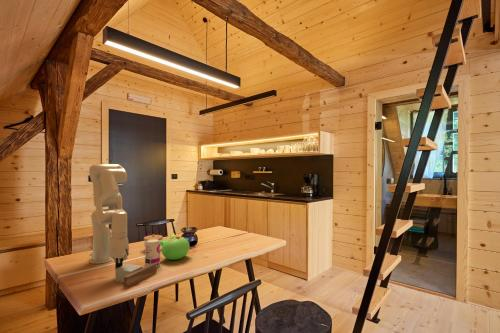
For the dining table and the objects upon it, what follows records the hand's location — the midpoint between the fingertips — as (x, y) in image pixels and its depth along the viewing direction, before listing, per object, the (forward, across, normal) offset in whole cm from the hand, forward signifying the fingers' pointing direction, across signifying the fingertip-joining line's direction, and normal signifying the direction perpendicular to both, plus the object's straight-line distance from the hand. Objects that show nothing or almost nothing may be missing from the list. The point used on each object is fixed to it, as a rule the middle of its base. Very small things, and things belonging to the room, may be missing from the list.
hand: (118, 269), depth 141 cm
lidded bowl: (+4, -15, +44) cm, 47 cm away
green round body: (+4, +10, +35) cm, 37 cm away
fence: (+4, +13, +2) cm, 14 cm away
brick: (+4, +7, 0) cm, 8 cm away
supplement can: (+4, +6, +19) cm, 20 cm away
